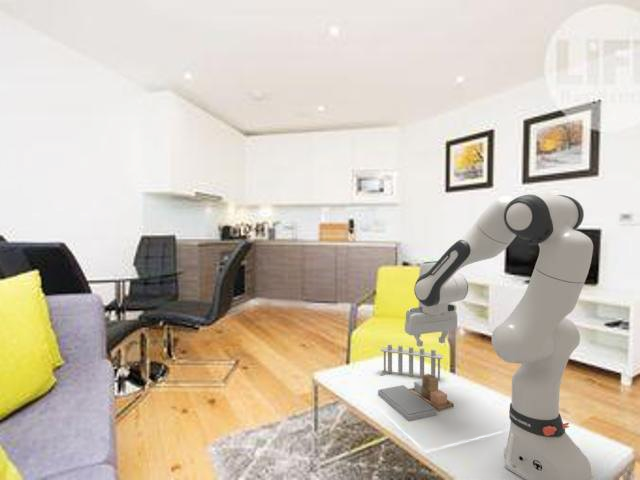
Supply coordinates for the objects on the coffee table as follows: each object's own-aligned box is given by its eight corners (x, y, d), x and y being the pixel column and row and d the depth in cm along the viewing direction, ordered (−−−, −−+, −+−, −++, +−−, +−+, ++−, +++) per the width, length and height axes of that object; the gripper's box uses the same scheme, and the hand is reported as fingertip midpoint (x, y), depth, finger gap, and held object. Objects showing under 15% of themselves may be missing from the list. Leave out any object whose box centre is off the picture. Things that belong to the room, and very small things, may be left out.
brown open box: (453, 411, 130) (453, 383, 129) (437, 415, 127) (437, 387, 127) (423, 391, 144) (423, 367, 144) (408, 395, 142) (408, 370, 141)
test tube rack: (443, 381, 153) (443, 349, 153) (442, 385, 149) (442, 352, 149) (382, 372, 163) (382, 341, 163) (380, 375, 159) (380, 345, 159)
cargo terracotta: (447, 405, 130) (447, 394, 130) (437, 408, 129) (437, 396, 129) (439, 400, 134) (439, 389, 134) (430, 402, 133) (430, 391, 132)
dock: (437, 417, 125) (437, 408, 125) (408, 424, 121) (408, 414, 121) (403, 392, 144) (403, 384, 143) (378, 397, 140) (378, 389, 140)
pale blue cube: (430, 394, 139) (430, 384, 139) (421, 396, 137) (421, 386, 137) (423, 390, 142) (423, 379, 142) (414, 392, 141) (414, 381, 141)
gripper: (411, 310, 128) (411, 350, 128) (460, 305, 135) (459, 343, 135) (401, 306, 134) (401, 345, 134) (448, 302, 141) (448, 338, 141)
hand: (430, 344), depth 135 cm, fingers open, 8 cm apart
